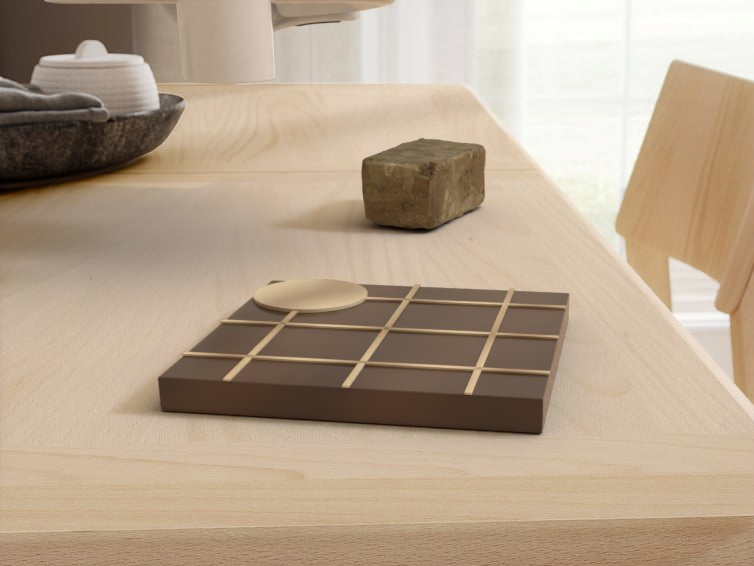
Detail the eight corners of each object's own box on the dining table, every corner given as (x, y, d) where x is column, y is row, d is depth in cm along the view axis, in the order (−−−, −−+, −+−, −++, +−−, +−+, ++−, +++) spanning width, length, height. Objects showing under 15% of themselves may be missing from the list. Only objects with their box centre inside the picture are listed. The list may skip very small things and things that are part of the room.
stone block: (357, 228, 82) (355, 155, 80) (419, 200, 92) (419, 134, 90) (434, 235, 80) (434, 160, 78) (489, 205, 90) (490, 138, 88)
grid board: (160, 411, 49) (156, 372, 48) (273, 306, 63) (271, 276, 63) (542, 434, 47) (543, 394, 46) (568, 320, 61) (570, 288, 60)
